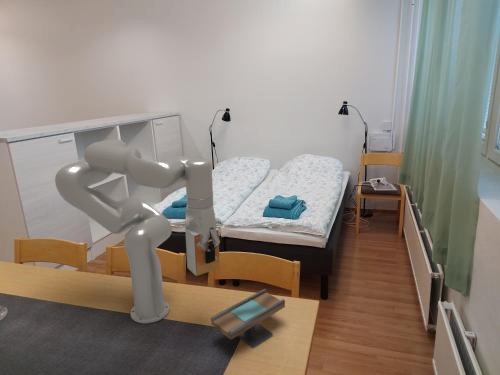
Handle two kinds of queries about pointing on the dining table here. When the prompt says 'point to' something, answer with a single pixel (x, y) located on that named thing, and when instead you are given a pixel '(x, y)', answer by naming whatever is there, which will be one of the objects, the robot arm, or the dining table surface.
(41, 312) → the dining table surface
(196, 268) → the small box
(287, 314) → the dining table surface
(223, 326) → the brown flat channel
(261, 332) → the pivot stand
